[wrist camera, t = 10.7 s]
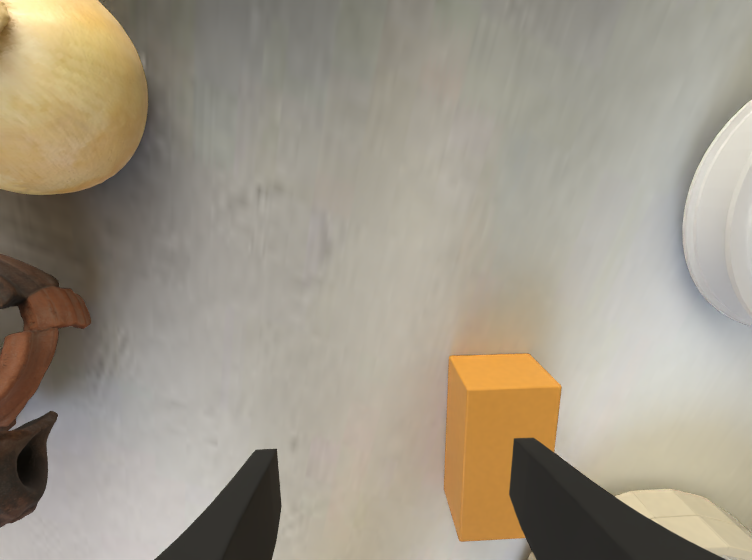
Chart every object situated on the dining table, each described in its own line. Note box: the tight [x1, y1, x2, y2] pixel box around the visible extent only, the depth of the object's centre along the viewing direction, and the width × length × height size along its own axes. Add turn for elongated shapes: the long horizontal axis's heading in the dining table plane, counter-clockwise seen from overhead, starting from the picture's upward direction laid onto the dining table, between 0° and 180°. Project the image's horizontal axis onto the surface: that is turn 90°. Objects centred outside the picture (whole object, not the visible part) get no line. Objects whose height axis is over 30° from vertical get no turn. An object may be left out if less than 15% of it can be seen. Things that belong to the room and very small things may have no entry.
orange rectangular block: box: [444, 353, 561, 542], centre depth 21 cm, size 8×4×4 cm, turn 1°
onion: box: [0, 0, 148, 195], centre depth 14 cm, size 8×8×7 cm
